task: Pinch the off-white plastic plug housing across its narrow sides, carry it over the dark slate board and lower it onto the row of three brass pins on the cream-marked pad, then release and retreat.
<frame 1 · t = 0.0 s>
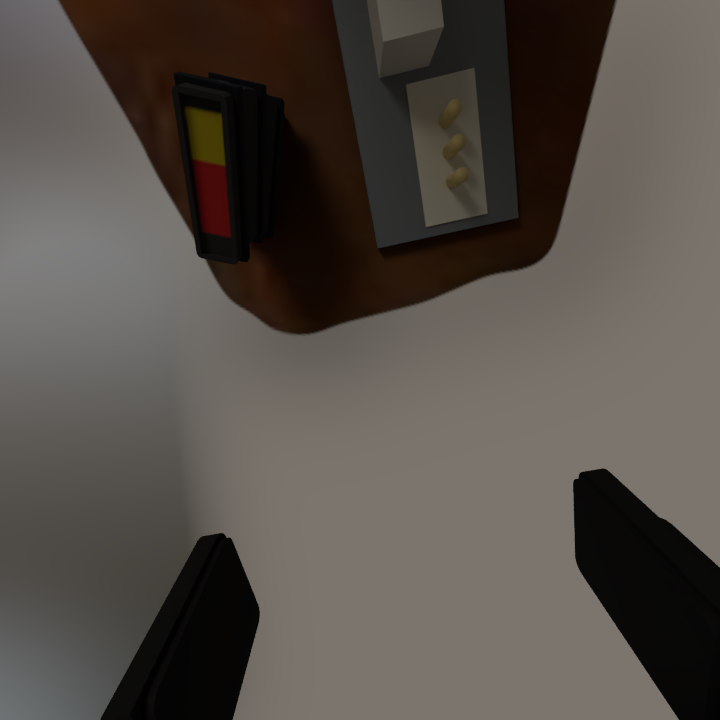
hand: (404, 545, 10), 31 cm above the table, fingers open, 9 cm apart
plug: (393, 1, 30), point 1 cm above the table, touching board
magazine: (263, 186, 36), on the table
board: (427, 98, 33), on the table
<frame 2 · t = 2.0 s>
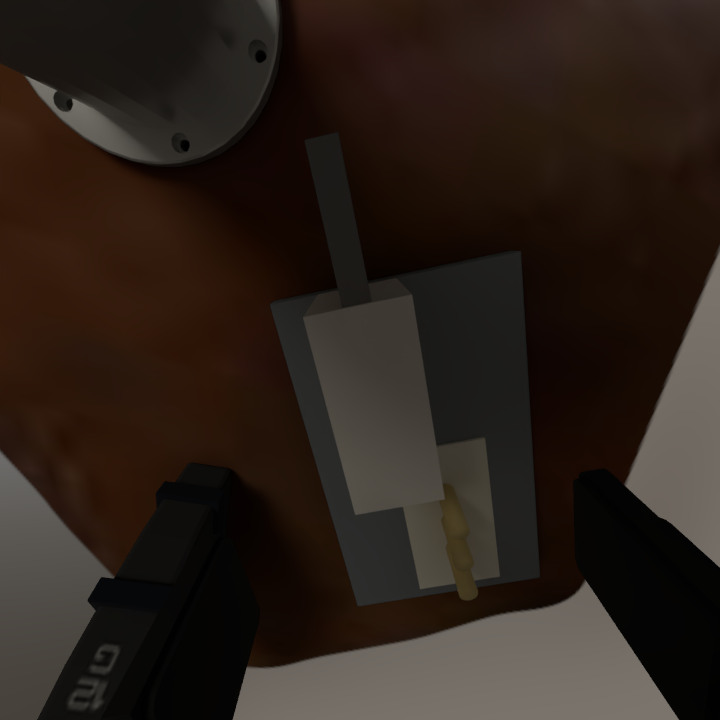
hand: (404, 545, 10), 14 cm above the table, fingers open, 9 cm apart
plug: (374, 369, 21), point 1 cm above the table, touching board
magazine: (207, 533, 27), on the table
board: (421, 450, 25), on the table
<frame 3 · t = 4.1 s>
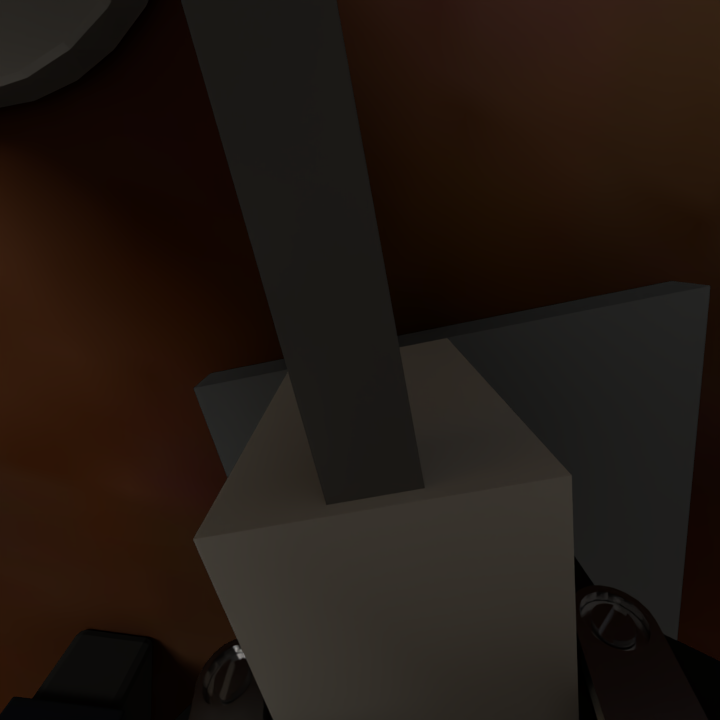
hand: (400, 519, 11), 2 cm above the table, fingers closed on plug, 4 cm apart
plug: (398, 502, 11), point 1 cm above the table, touching board, gripper
board: (474, 613, 14), on the table
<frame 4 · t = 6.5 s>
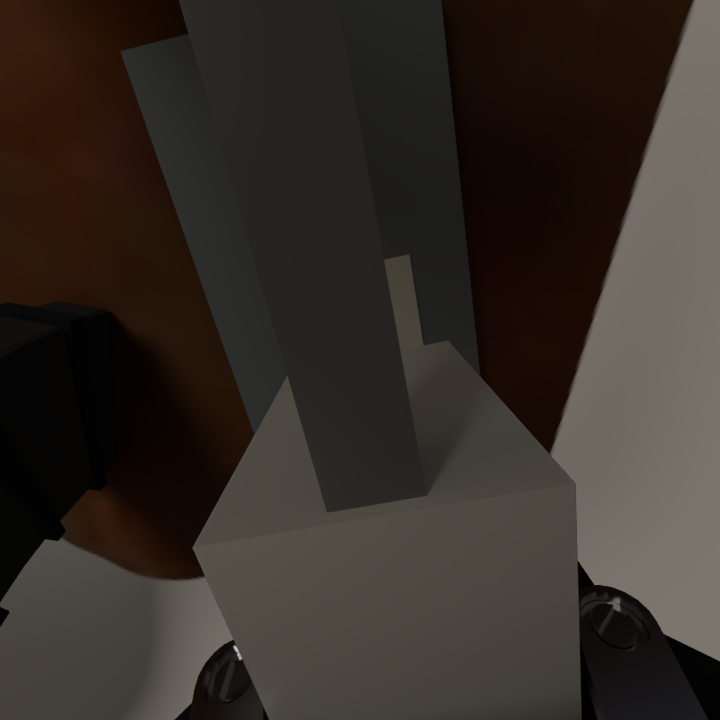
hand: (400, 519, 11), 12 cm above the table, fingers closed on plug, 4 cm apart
plug: (398, 505, 11), point 11 cm above the table, touching gripper
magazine: (92, 403, 23), on the table
board: (338, 286, 20), on the table
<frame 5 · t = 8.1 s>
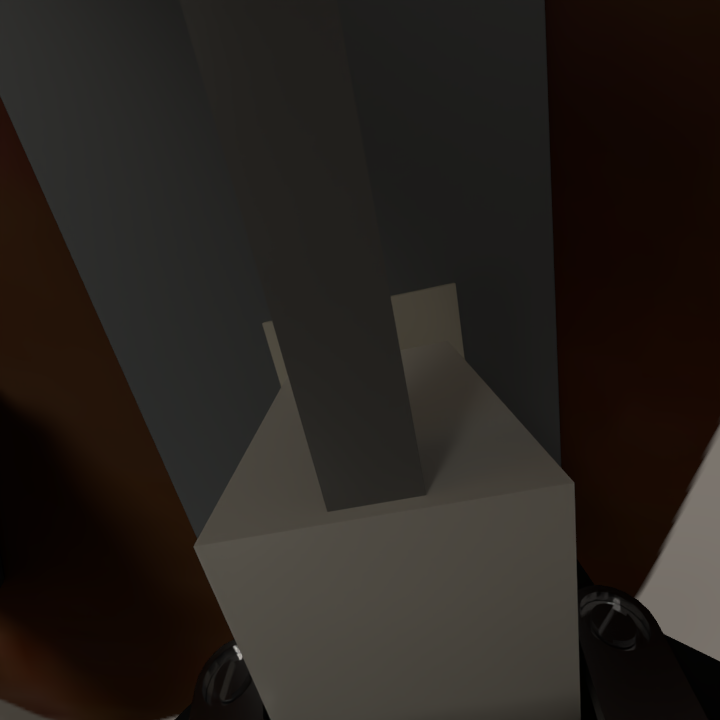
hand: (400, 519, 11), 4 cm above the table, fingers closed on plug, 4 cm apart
plug: (398, 504, 11), point 3 cm above the table, touching gripper
board: (335, 330, 13), on the table
when the fingers open (3 cm above the table, at t = 9.3 s): plug stays where it is, resting on board.
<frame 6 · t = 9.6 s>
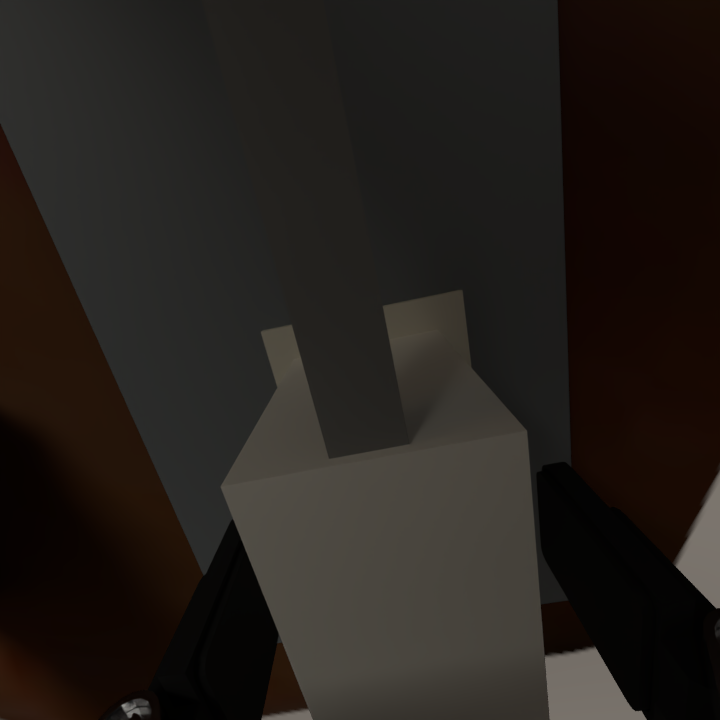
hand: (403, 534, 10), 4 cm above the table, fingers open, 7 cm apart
plug: (394, 482, 12), point 1 cm above the table, touching board
board: (336, 338, 12), on the table
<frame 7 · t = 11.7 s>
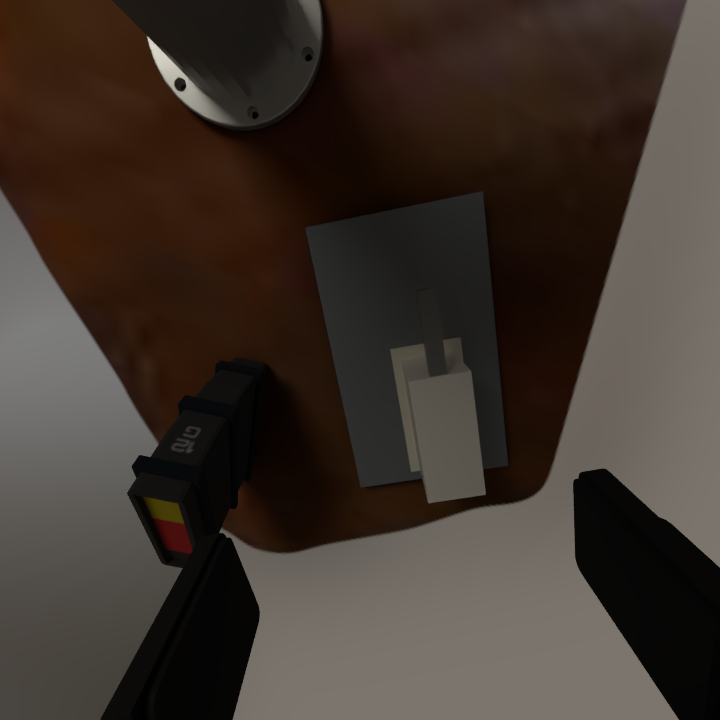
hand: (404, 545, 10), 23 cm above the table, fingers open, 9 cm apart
plug: (434, 408, 32), point 1 cm above the table, touching board
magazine: (244, 422, 35), on the table
board: (413, 352, 32), on the table
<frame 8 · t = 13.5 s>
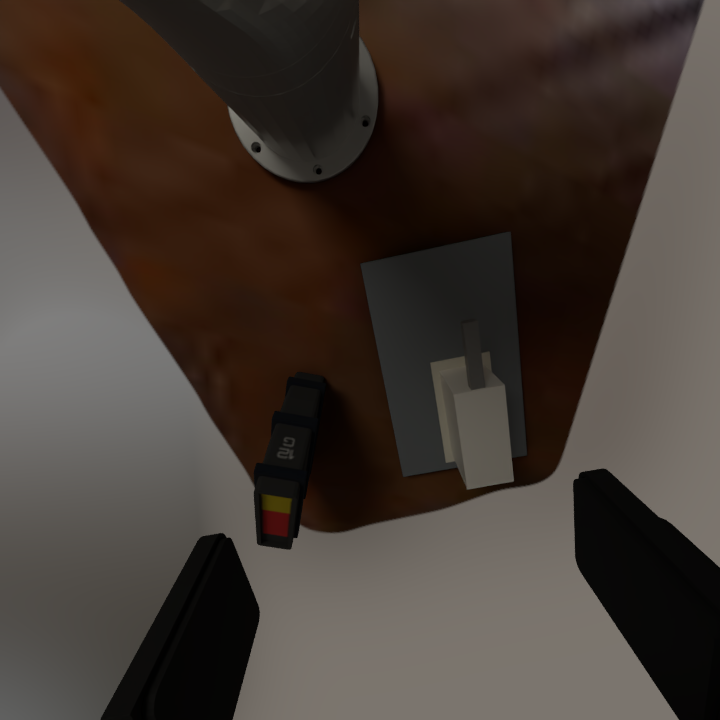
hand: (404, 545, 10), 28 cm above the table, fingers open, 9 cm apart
plug: (466, 410, 38), point 1 cm above the table, touching board
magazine: (302, 425, 41), on the table
board: (448, 364, 38), on the table
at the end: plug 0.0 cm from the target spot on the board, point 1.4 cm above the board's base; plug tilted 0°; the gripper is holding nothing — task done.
